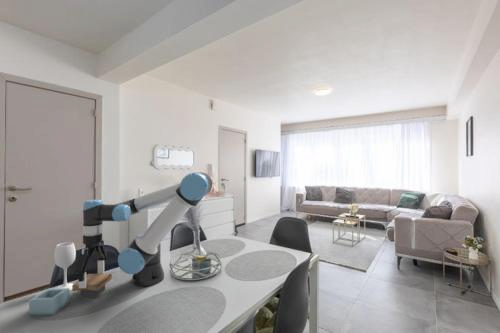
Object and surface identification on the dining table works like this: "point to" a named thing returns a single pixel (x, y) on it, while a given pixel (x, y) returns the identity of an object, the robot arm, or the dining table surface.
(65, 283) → the wineglass
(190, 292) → the dining table surface
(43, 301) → the dish
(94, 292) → the gray square block
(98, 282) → the lid
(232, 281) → the dining table surface
